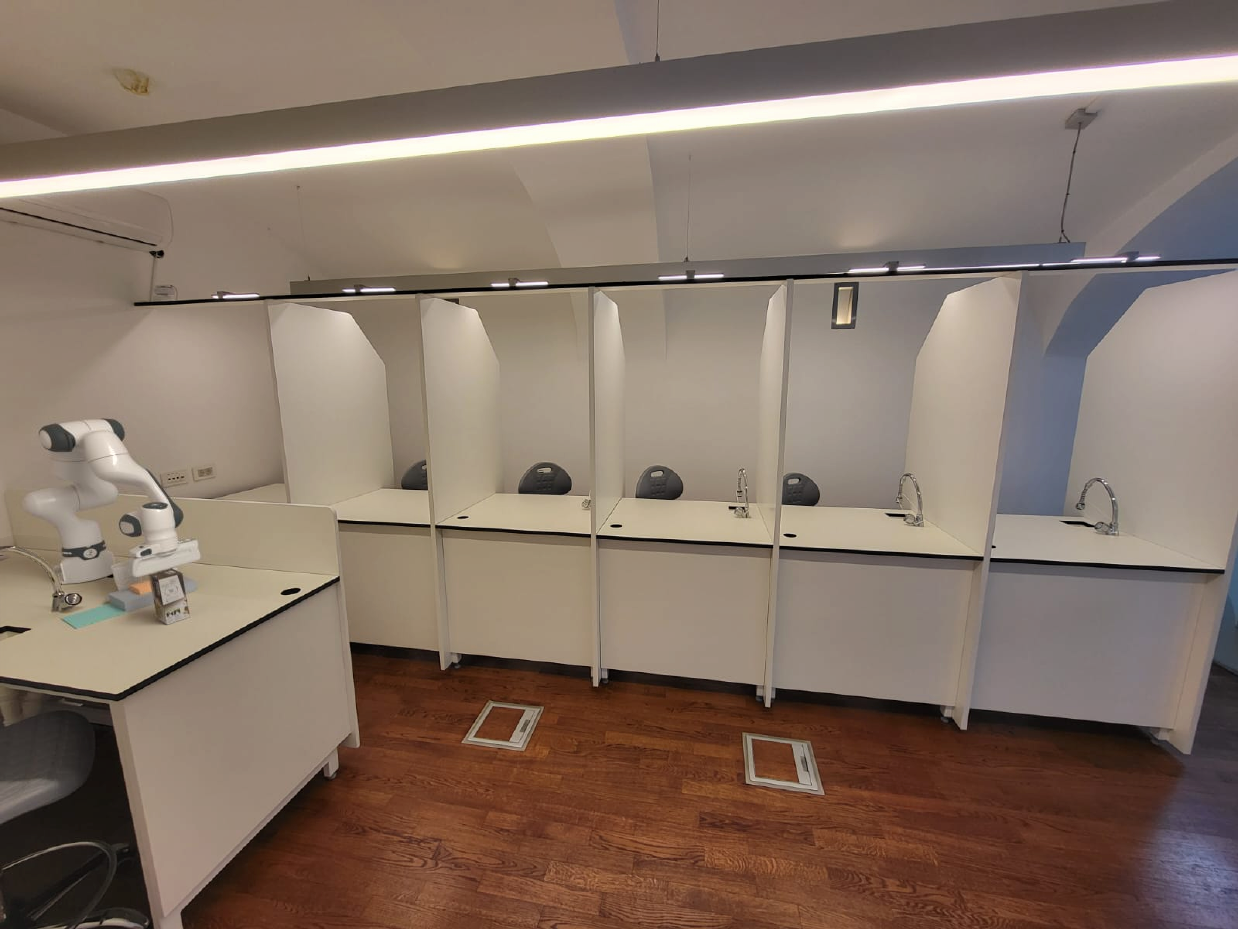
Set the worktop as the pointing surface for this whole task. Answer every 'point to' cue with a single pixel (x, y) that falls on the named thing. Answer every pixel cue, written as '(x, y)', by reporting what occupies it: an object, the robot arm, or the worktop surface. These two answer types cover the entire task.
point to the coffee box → (169, 596)
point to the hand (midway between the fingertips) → (169, 579)
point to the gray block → (141, 597)
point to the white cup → (123, 576)
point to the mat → (93, 615)
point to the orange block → (141, 587)
